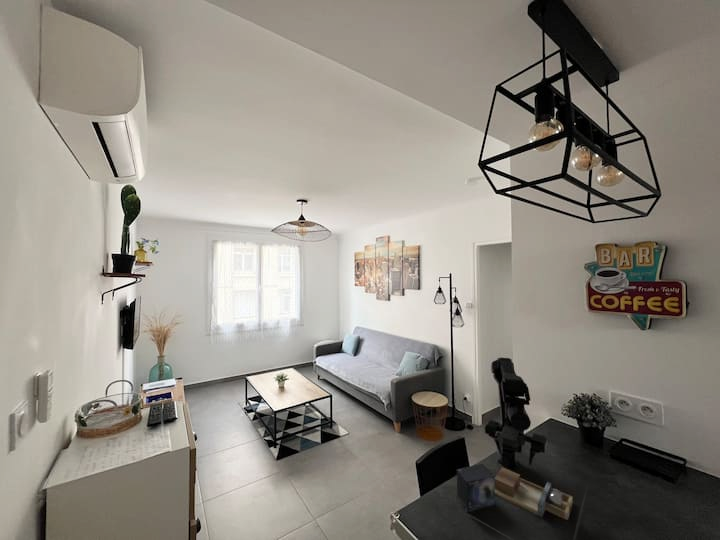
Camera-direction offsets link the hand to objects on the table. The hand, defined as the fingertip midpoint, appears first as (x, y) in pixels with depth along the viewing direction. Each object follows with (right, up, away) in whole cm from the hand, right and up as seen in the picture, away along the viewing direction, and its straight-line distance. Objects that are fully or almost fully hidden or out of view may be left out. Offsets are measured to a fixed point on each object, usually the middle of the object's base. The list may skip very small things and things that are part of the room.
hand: (515, 459), depth 102 cm
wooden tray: (+3, -11, -4) cm, 12 cm away
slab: (-2, -10, +1) cm, 11 cm away
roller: (+9, -8, -7) cm, 14 cm away
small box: (-16, -11, -5) cm, 20 cm away
